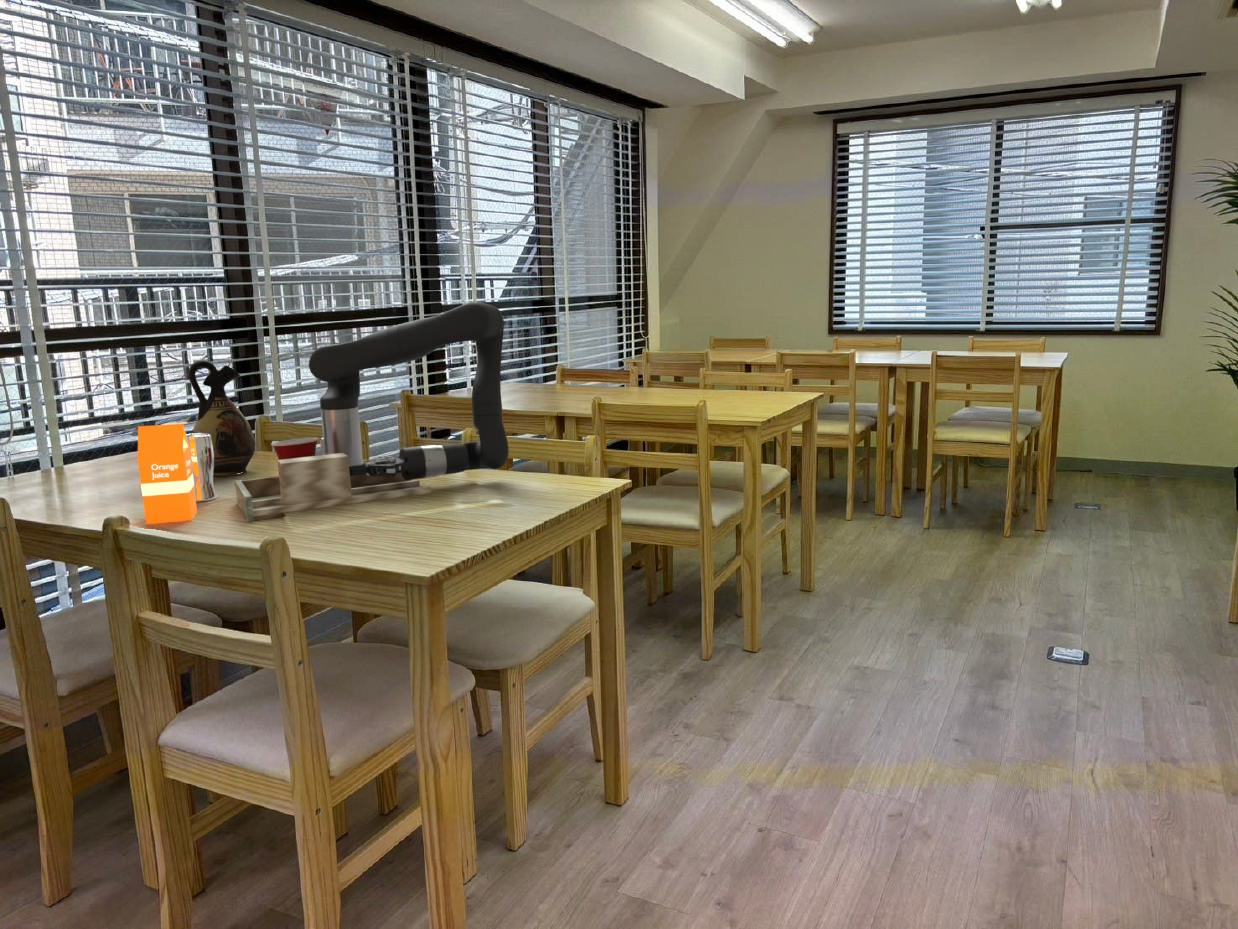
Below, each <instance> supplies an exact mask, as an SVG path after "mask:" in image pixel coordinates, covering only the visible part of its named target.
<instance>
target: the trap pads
mask: <svg viewBox="0 0 1238 929" xmlns="http://www.w3.org/2000/svg"><path fill="white" fill-rule="evenodd" d="M383 484H389V483H387V482H379V483H371V484H363V485H355V486H352V487H353V488H360V487H367V486H375V485H383Z"/></svg>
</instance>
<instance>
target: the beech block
mask: <svg viewBox="0 0 1238 929" xmlns="http://www.w3.org/2000/svg"><path fill="white" fill-rule="evenodd" d="M277 468H278V476H279V481H280V491H281V501H282V506H288V505H296V504H303V503H311V502H319V501H326V500H334V499H342V498H349V497H352V495H351V484H350V472H349V461H348V456H347V455H346V454H344V453H338V454H329V455H315V456H310V457H301V458H292V459H283V460H279V459H277Z"/></svg>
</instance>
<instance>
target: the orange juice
mask: <svg viewBox="0 0 1238 929" xmlns="http://www.w3.org/2000/svg"><path fill="white" fill-rule="evenodd" d="M186 434H187V433H186V430H185V426H184V423H175V424H174V423H173V424H160V425H159V424H158V425H143V426H142V425H141V426H137V455H136V456H137V457H136V458H137V464H138V471H139V472H138V473H139V479H140V489H141V494H142V500H143V509H144V516H145V522H146V523H145V524H146V525H154V524H163V523H165V524H166V523H177V522H187V520H188V521H192V520H193V519H194V518H195V516H196V515H197V513H198V508H197V502H196V498H195V490H194V480H193V473H192V465H191V457H190V449H189V444H188V440H187V437H186ZM195 514H196V515H195Z"/></svg>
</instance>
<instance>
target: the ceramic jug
mask: <svg viewBox="0 0 1238 929" xmlns="http://www.w3.org/2000/svg"><path fill="white" fill-rule="evenodd" d="M203 369H207V370H209V371H210V373H209V374H208V375H207V376H206V377H205V379H204V380H203V382H202V385H203V386H206V387H210V390H209V391H210V392H209V395H208V397H207V398H206V396H205V395H204V393H203V391H202V389H201V387H200V385H199V383H198V381H197V376H196V373H197V372H198V371H199V370H203ZM187 374H188V379H189V383H190V385H191V387H192V389H193V391H194V393H195V396H196V398H197V399H198V401H199V405H198V414H197V419H196V421H195V424H194V426H193V429H192V431H191V434H194V433H210V434H211V439H212V444H213V450H214V471H213V476H217V477H226V476H225V475H228V476H234V475H233V474H237V473H241V472H245V471H246V470H247V467H248V465H249V463H250V462H251V460H252V458H253V456H254V455H255V451H256V439H255V435H254V432H253V430H252V427H251V425H250V423H249V422H248V420H247V418H246V417H245V416H244V414H243V413H242V412H241V410H240V409H239V408H238V407H237V406H236V405H235V403H234V402H233V401H232V400H231V399H230V398H229V396H228V395H227V392H226V390H225V386H226V385H227V384H229V383H230V382H233V381H234V380H236V379H238V378H240V377H241V375H240V374H239V372H237V371H236V370H234V369H233V368H231V366H229V365H226V364H225V365H223V367H222V368H220V369H219V370H218V369H217V367H216V365H214V364H213V363H212V362H210V361H208V360H197V361H194V362H193V363H192V364H191V365H190V366H189V369H188V372H187ZM245 473H246V472H245Z"/></svg>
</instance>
